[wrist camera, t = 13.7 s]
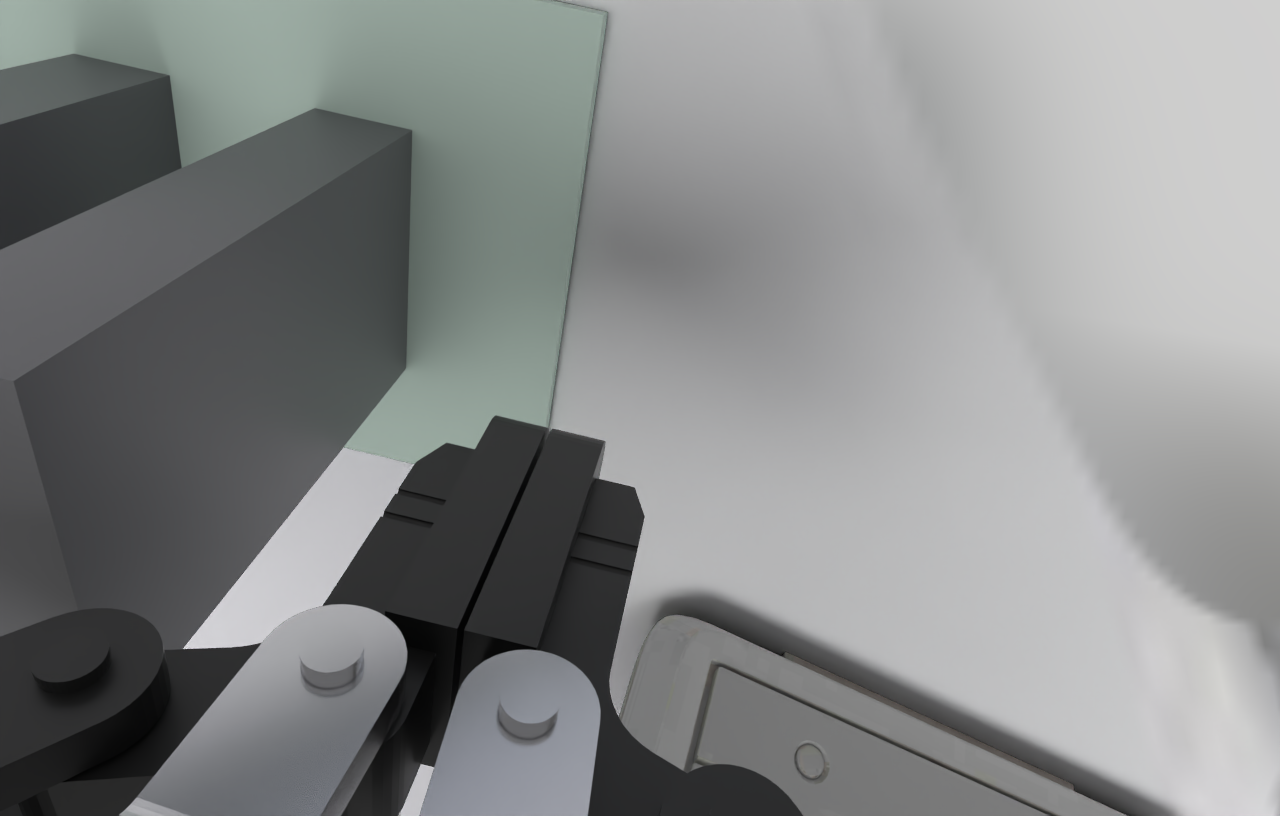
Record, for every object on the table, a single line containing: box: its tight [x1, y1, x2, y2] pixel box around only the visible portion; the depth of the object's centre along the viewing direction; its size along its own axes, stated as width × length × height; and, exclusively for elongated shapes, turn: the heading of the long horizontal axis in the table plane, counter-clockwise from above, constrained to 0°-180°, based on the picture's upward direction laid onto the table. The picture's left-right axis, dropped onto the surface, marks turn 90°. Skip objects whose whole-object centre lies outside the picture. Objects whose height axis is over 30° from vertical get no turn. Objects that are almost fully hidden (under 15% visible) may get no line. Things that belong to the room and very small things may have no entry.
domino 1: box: [0, 108, 412, 650], centre depth 12 cm, size 5×2×9 cm, turn 170°
